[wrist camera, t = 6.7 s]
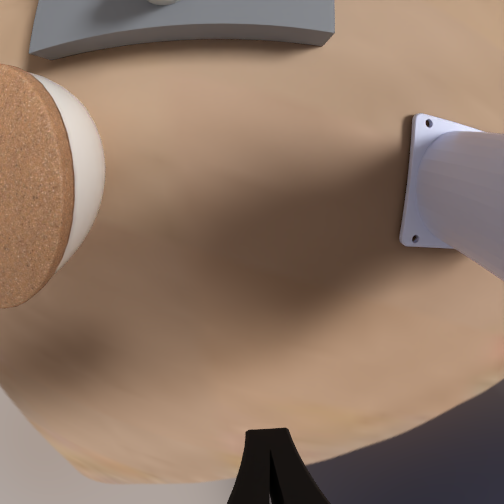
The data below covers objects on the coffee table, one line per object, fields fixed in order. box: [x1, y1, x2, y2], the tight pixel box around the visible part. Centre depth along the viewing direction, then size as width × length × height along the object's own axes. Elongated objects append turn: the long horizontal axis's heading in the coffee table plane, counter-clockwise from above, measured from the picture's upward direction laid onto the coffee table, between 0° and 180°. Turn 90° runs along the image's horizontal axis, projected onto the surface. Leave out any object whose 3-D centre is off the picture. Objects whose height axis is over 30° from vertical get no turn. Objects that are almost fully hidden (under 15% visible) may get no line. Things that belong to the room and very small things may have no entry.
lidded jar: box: [0, 64, 106, 308], centre depth 12 cm, size 11×11×9 cm
